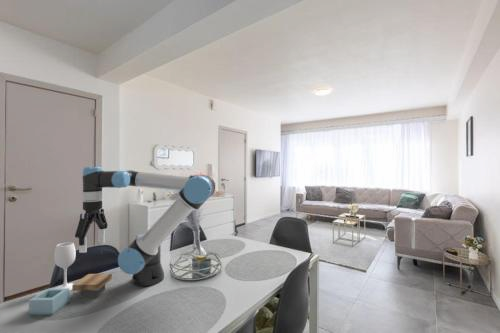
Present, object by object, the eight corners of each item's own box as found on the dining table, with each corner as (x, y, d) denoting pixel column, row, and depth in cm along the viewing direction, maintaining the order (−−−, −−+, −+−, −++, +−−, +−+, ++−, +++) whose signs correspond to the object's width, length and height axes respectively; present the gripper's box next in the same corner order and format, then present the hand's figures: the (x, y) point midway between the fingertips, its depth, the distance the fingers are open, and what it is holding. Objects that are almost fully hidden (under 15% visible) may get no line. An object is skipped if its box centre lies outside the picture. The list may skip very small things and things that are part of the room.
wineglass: (49, 294, 112) (49, 247, 112) (58, 285, 120) (58, 242, 120) (71, 291, 114) (71, 246, 114) (79, 283, 122) (79, 240, 123)
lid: (111, 278, 118) (111, 273, 118) (98, 290, 107) (98, 284, 107) (88, 279, 118) (88, 273, 118) (72, 290, 107) (72, 284, 107)
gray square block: (105, 289, 116) (105, 280, 116) (96, 297, 109) (96, 288, 109) (90, 289, 116) (90, 281, 116) (80, 297, 109) (80, 288, 109)
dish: (69, 302, 105) (69, 288, 105) (52, 315, 96) (52, 299, 96) (47, 302, 105) (47, 288, 105) (29, 315, 96) (29, 300, 96)
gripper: (100, 197, 125) (100, 239, 125) (64, 204, 100) (64, 257, 100) (115, 197, 125) (115, 239, 125) (83, 204, 100) (83, 257, 100)
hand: (92, 247), depth 113 cm, fingers open, 13 cm apart
